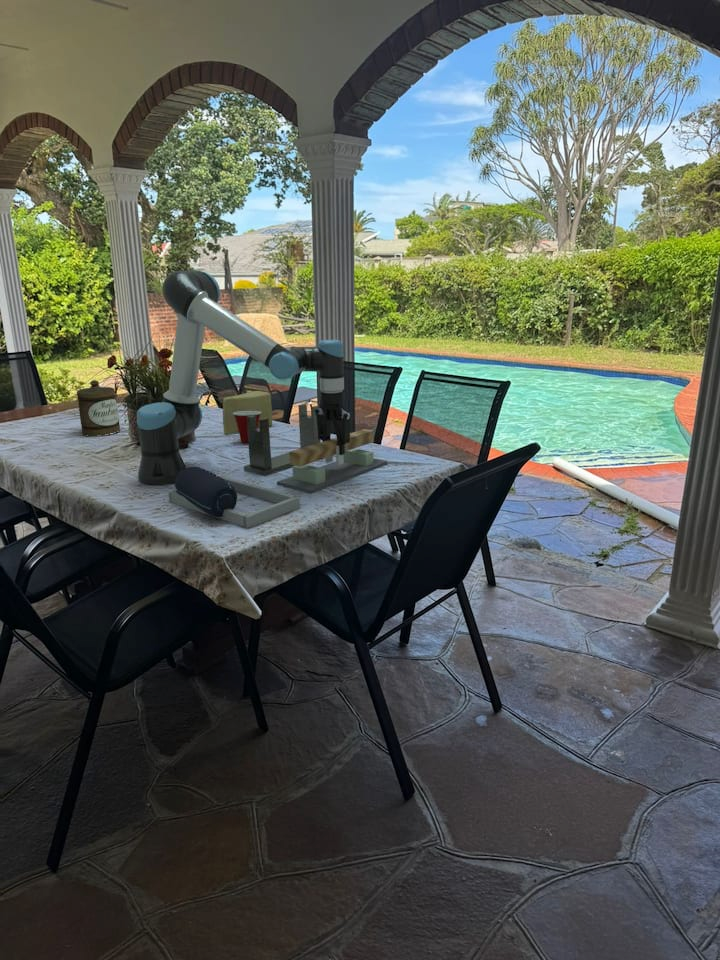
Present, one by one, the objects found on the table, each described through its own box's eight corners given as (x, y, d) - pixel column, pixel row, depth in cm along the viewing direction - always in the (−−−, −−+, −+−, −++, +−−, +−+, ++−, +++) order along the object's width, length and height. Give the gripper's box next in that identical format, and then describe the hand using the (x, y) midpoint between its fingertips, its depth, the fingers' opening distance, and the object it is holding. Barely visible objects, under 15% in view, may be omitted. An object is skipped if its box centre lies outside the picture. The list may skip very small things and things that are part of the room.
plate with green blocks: (310, 493, 189) (309, 477, 188) (277, 484, 198) (276, 469, 196) (387, 464, 217) (387, 449, 216) (355, 457, 226) (355, 443, 224)
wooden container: (98, 438, 259) (90, 384, 252) (75, 434, 266) (66, 381, 260) (128, 431, 271) (121, 379, 264) (105, 427, 278) (98, 376, 272)
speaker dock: (247, 528, 164) (247, 517, 163) (169, 501, 185) (168, 491, 184) (299, 507, 178) (299, 497, 177) (221, 484, 199) (220, 475, 198)
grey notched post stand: (264, 475, 207) (261, 421, 201) (244, 470, 213) (240, 417, 207) (326, 455, 229) (325, 405, 223) (306, 451, 235) (304, 402, 229)
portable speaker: (244, 515, 172) (241, 480, 169) (210, 524, 167) (206, 488, 164) (205, 492, 191) (202, 460, 188) (173, 500, 186) (169, 467, 183)
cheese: (232, 436, 259) (229, 399, 254) (217, 433, 265) (214, 397, 260) (273, 426, 275) (271, 391, 270) (259, 423, 281) (256, 389, 276)
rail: (299, 466, 191) (298, 453, 190) (290, 464, 193) (289, 451, 192) (373, 442, 217) (373, 430, 216) (364, 440, 220) (364, 429, 219)
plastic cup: (266, 438, 254) (264, 408, 251) (259, 445, 244) (257, 414, 240) (239, 438, 255) (237, 408, 252) (231, 445, 245) (229, 414, 241)
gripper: (361, 391, 197) (362, 464, 204) (320, 386, 207) (322, 456, 214) (345, 395, 191) (347, 470, 199) (304, 390, 202) (307, 461, 209)
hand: (334, 462), depth 206 cm, fingers closed on rail, 4 cm apart
